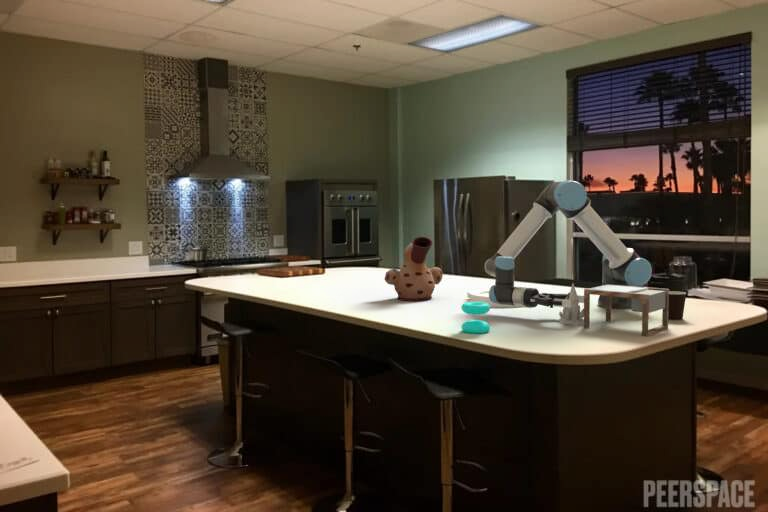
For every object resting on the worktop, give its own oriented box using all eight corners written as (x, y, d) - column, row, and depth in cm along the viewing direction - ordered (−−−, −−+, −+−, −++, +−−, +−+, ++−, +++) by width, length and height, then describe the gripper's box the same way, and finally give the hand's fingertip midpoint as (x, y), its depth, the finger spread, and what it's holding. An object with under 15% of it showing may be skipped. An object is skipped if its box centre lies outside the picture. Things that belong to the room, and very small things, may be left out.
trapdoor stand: (583, 328, 233) (584, 289, 232) (607, 321, 246) (607, 284, 245) (646, 336, 217) (647, 294, 216) (668, 328, 231) (668, 289, 230)
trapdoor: (587, 306, 234) (587, 288, 233) (606, 302, 244) (606, 284, 244) (648, 313, 218) (648, 293, 218) (665, 307, 229) (666, 288, 228)
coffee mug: (684, 321, 244) (684, 294, 243) (659, 319, 249) (659, 293, 248) (688, 316, 254) (688, 291, 253) (664, 314, 258) (664, 289, 258)
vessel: (431, 294, 326) (430, 234, 324) (455, 300, 306) (454, 236, 304) (379, 298, 313) (378, 236, 311) (400, 304, 294) (400, 238, 291)
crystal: (578, 318, 252) (579, 280, 251) (590, 324, 239) (590, 284, 238) (553, 319, 252) (553, 280, 251) (563, 325, 239) (563, 284, 238)
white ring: (538, 307, 283) (538, 296, 282) (473, 308, 283) (473, 297, 283) (525, 298, 311) (525, 288, 310) (466, 299, 311) (466, 289, 311)
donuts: (480, 300, 235) (495, 304, 226) (480, 327, 236) (495, 332, 227) (456, 302, 232) (470, 306, 222) (456, 330, 232) (470, 335, 223)
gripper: (540, 302, 266) (591, 307, 253) (511, 310, 247) (564, 316, 234) (540, 284, 266) (591, 288, 252) (511, 291, 247) (564, 295, 233)
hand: (578, 301), depth 243 cm, fingers open, 13 cm apart
